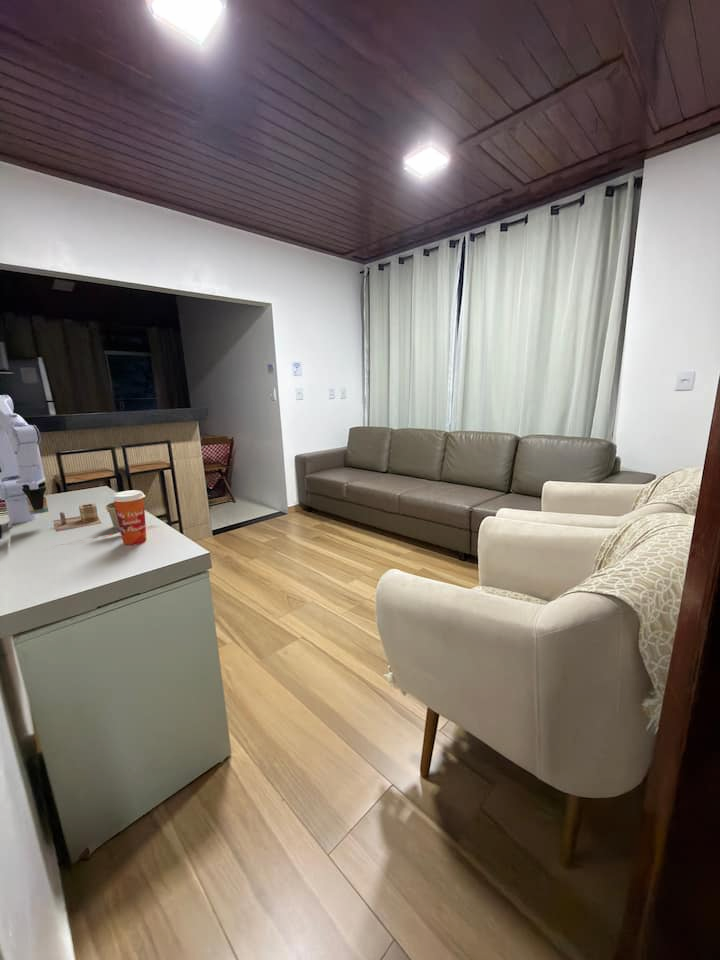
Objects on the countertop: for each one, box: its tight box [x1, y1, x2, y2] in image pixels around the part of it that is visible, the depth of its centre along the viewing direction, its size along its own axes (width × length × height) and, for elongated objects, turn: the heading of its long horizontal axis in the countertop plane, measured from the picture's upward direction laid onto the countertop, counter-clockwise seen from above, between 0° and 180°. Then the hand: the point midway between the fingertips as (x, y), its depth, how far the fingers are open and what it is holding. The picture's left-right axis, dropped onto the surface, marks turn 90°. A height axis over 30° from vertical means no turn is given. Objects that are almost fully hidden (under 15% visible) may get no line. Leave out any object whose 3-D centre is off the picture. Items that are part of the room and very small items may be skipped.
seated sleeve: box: [78, 502, 99, 522], centre depth 128 cm, size 4×4×5 cm
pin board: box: [53, 511, 102, 533], centre depth 126 cm, size 14×12×5 cm
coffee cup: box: [111, 489, 147, 546], centre depth 111 cm, size 8×8×15 cm
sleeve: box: [27, 493, 49, 515], centre depth 119 cm, size 4×4×5 cm
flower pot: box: [104, 501, 121, 533], centre depth 122 cm, size 9×9×9 cm
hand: (38, 507), depth 119 cm, fingers closed on sleeve, 4 cm apart
